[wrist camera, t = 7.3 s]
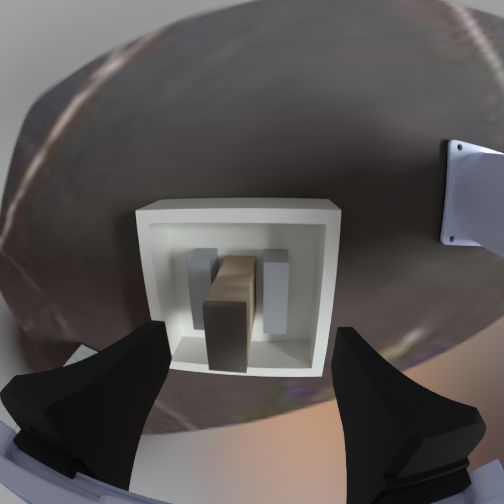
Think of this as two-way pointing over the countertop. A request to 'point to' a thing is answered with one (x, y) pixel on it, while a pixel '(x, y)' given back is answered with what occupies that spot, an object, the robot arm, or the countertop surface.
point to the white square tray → (267, 275)
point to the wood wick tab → (231, 314)
